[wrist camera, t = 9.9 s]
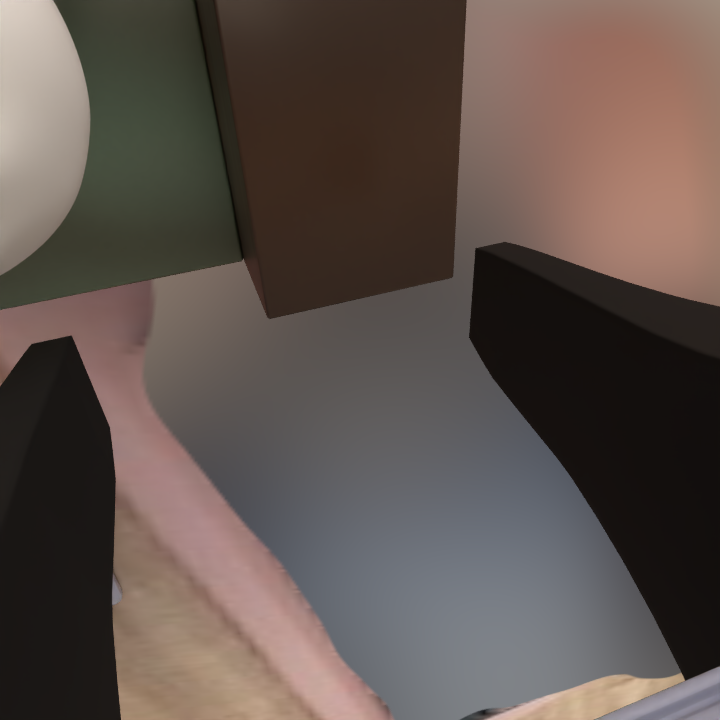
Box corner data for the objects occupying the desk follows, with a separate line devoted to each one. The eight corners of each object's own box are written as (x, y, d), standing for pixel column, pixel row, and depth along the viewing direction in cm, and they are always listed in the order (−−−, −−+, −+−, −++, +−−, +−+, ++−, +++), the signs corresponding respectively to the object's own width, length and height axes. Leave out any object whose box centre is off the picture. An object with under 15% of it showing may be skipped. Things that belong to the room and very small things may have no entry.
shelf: (369, 187, 21) (454, 278, 16) (-43, 262, 18) (-96, 403, 13) (344, -391, 13) (496, -567, 8) (-390, -420, 10) (-851, -719, 5)
